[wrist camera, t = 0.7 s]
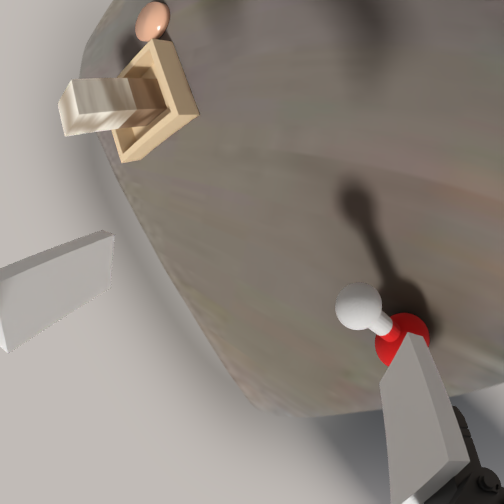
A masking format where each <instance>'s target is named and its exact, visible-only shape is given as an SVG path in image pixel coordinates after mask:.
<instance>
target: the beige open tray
mask: <svg viewBox="0 0 504 504" xmlns="http://www.w3.org/2000/svg"><path fill="white" fill-rule="evenodd" d="M117 78H149V79H157V80H158V83H159V86H160V89H161V92H162V95H163V97H164V100H165V103H166V106H167V109H166V110H165V111H164V112H162V113H161V114H160V115H159V116H158V117H157V118H155V119H154V120H153V121H152V122H151V123H150V124H149V125H148V126H140V127H130V128H121V129H112V133H113V137H114V140H115V143H116V147H117V150H118V153H119V156H120V160H121V163H125V162H130V161H136V160H141V159H142V158H143V157H144V156H146V155H147V154H148V153H149V152H151V151H152V150H153V149H154V148H156V147H157V146H158V145H159V144H161V143H162V142H163V141H165V140H166V139H167V138H169V137H170V136H171V135H172V134H174V133H175V132H176V131H178V130H179V129H181V128H182V127H183V126H185V125H186V124H187V123H189V122H190V121H192V120H193V119H194V118H196V117H197V116H199V115H200V114H199V111H198V108H197V106H196V103H195V100H194V98H193V95H192V92H191V90H190V87H189V84H188V82H187V79H186V76H185V74H184V71H183V68H182V66H181V63H180V61H179V58H178V55H177V53H176V50H175V47H174V45H173V42H171V41H165V40H158V39H151V40H150V41H149V42H148V43H147V44H146V45H145V46H144V47H143V49H142V50H141V51H140V52H139V53H138V54H137V55H136V56H135V57H134V58H133V59H132V61H131V62H130V63H129V64H128V65H127V66H126V67H125V69H124V70H123V71H122V72H121V73H120V74H119V76H118V77H117Z"/></svg>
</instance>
